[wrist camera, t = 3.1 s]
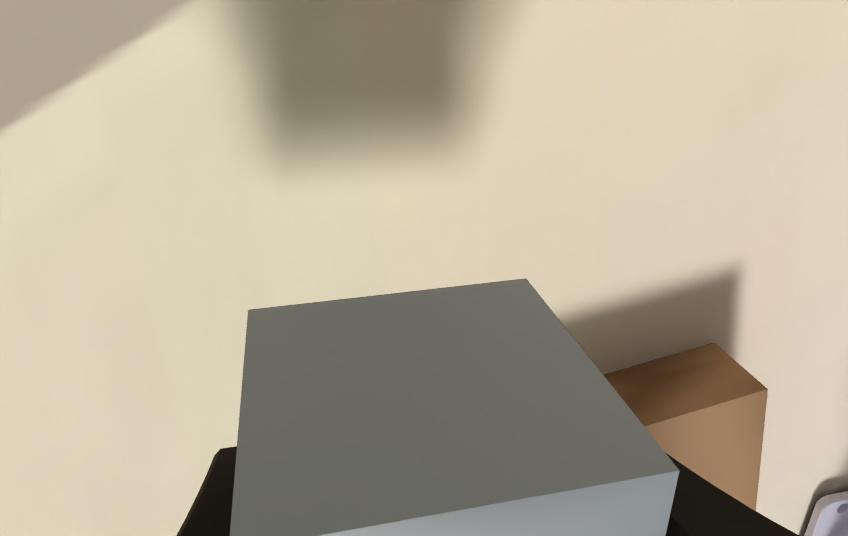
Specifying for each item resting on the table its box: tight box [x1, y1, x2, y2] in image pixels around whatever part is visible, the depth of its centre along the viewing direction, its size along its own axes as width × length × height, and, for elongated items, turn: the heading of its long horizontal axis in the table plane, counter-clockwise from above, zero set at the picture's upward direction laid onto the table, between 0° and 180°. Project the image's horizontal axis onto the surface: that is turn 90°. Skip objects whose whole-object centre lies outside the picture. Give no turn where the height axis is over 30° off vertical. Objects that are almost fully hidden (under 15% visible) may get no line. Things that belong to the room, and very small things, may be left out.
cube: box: [230, 279, 679, 536], centre depth 10 cm, size 5×5×5 cm
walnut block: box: [604, 343, 768, 511], centre depth 22 cm, size 9×9×3 cm
